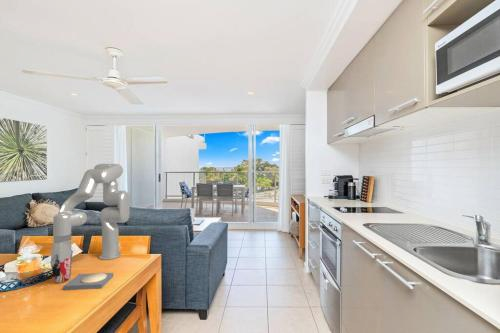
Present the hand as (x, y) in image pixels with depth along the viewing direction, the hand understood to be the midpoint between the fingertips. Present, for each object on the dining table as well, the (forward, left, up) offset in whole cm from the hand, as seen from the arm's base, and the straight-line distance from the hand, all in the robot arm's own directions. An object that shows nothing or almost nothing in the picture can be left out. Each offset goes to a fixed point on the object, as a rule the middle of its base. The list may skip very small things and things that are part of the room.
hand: (62, 272), depth 136 cm
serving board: (+4, +15, -4) cm, 16 cm away
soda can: (0, 0, -5) cm, 5 cm away
